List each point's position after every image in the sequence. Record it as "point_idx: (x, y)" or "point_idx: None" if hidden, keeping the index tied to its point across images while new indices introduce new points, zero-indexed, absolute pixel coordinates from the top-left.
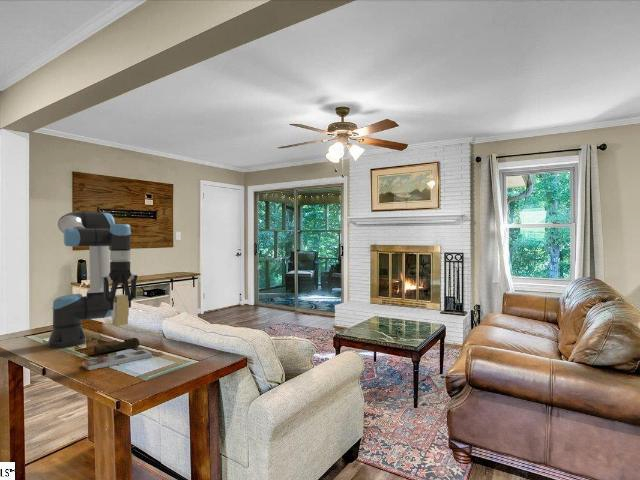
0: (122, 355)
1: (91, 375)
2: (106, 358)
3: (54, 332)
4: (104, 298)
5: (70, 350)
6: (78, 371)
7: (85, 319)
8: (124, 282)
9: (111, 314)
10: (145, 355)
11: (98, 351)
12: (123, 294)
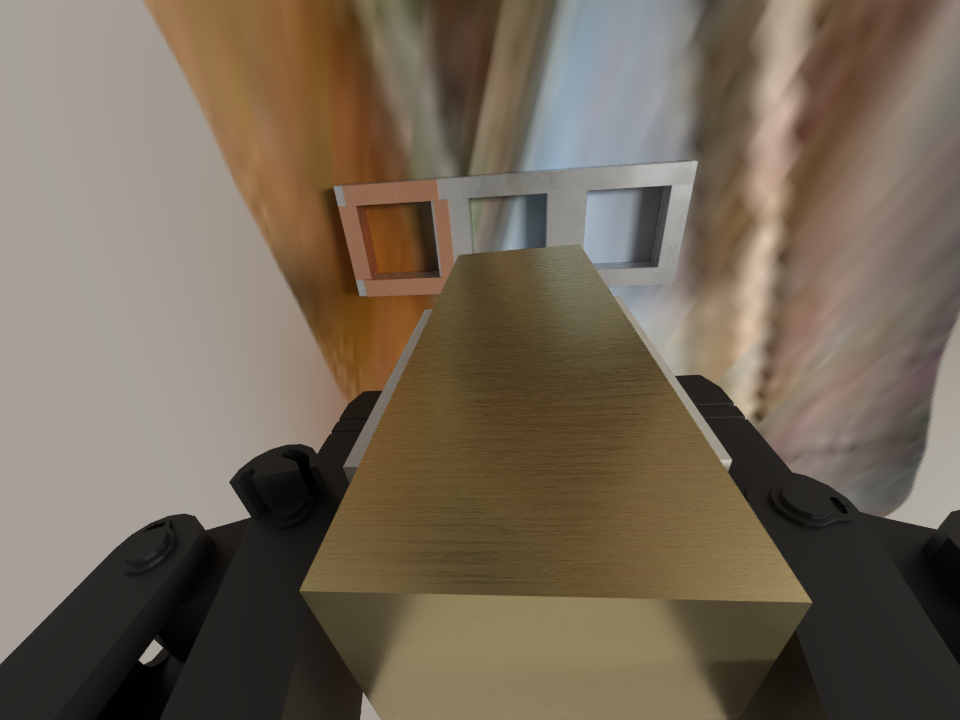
0: (543, 192)
1: (373, 354)
2: (447, 225)
3: None
4: (116, 594)
5: None
6: (327, 267)
7: None
8: None
9: (418, 333)
10: (634, 283)
11: None
12: (795, 606)
